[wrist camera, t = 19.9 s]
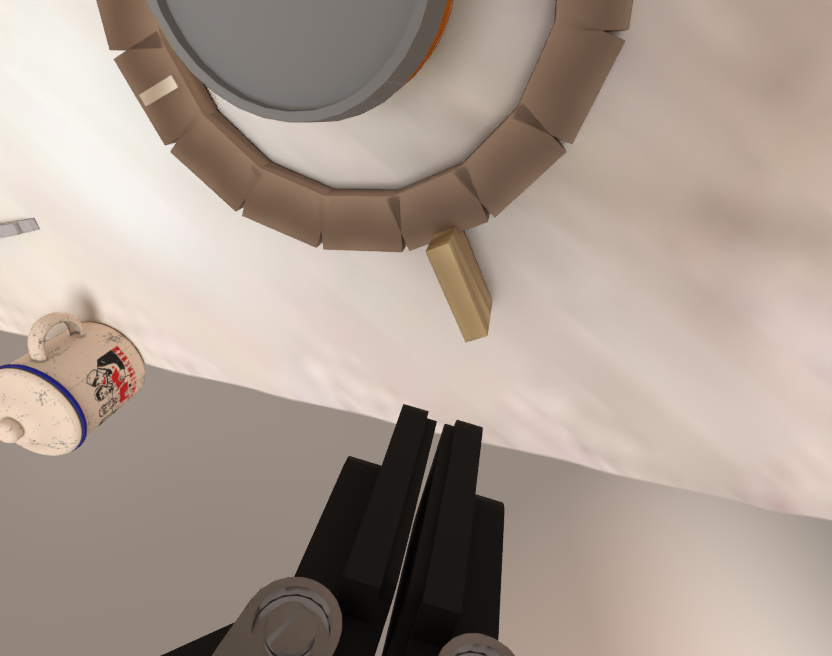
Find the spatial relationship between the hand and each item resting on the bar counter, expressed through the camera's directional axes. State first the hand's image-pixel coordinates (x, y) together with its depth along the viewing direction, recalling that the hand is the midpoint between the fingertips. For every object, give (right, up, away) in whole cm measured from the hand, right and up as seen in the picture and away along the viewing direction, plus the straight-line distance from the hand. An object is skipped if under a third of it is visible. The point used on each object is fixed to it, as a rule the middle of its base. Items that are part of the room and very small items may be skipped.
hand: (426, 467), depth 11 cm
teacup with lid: (-31, +1, +40) cm, 50 cm away
